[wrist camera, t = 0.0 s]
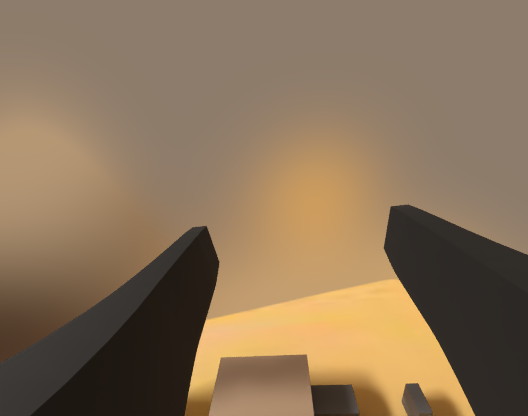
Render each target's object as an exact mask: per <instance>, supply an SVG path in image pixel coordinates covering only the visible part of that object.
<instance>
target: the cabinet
mask: <svg viewBox="0 0 528 416" xmlns="http://www.w3.org/2000/svg"><path fill="white" fill-rule="evenodd" d="M402 403H403V406H404V408H405V410H406V413H407V415H408V416H432V414H433V412H432V410H431V408H430V406H429V404H428V402H427V400H426V398H425V396H424V394H423V392H422V390H421V388H420V386H419V384H418V383H416V384H406V385H405V389H404V394H403V398H402ZM209 416H359V410H358V406H357V403H356V399H355V395H354V391H353V388H352V385H316V386H310V377H309V369H308V361H307V355H282V356H254V357H226V358H221V360H220V365H219V369H218V374H217V379H216V383H215V388H214V392H213V397H212V402H211V406H210V411H209Z"/></svg>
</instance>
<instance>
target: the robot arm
mask: <svg viewBox="0 0 528 416" xmlns="http://www.w3.org/2000/svg"><path fill="white" fill-rule="evenodd" d="M384 250H385V252H386V254H387V256H388V259H389V261H390V263H391V265H392V267H393V269H394V271H395V273H396V275H397V276H398V278H399V280H400V281H401V283H402V284H403V286H404V288H405V289H406V291H407V292H408V294H409V296H410V297H411V299H412V300H413V302H414V303H415V305H416V307H417V308H418V310H419V311H420V313H421V314H422V316H423V318H424V319H425V321H426V322H427V324H428V325H429V327H430V329H431V330H432V332H433V334H434V335H435V337H436V339H437V340H438V342H439V344H440V346H441V348H442V350H443V352H444V354H445V356H446V357H447V359H448V361H449V363H450V365H451V367H452V369H453V371H454V373H455V375H456V377H457V379H458V381H459V383H460V385H461V387H462V389H463V391H464V393H465V395H466V397H467V399H468V402H469V404H470V406H471V408H472V410H473V412H474V414H475V416H528V255H527V254H524V253H521V252H519V251H516V250H514V249H511V248H509V247H506V246H504V245H501V244H499V243H496V242H494V241H491V240H489V239H487V238H485V237H482V236H480V235H477V234H475V233H473V232H471V231H468V230H466V229H464V228H461V227H459V226H457V225H455V224H452V223H450V222H448V221H446V220H444V219H441V218H439V217H437V216H435V215H432V214H430V213H428V212H426V211H423V210H421V209H418V208H415V207H413V206H410V205H400V206H391V209H390V214H389V220H388V226H387V232H386V238H385V244H384ZM218 268H219V260H218V257H217V254H216V251H215V249H214V246H213V243H212V240H211V237H210V234H209V231H208V229H207V227H206V226H202V227H193V228H192V229H190V230H189V231H187V232H186V233H185V234H184V235H182V236H181V237H180V238H179V239H178V240H177V241H176V242H174V243H173V244H172V245H171V246H170V247H169V248H167V249H166V250H165V251H164V252H163V253H162V254H160V255H159V256H158V257H157V258H156V259H155V260H154V261H152V262H151V263H150V264H149V265H148V266H146V267H145V268H144V269H142V270H141V271H140V272H139V273H138V274H136V275H135V276H134V277H133V278H131V279H130V280H129V281H128V282H126V283H125V284H124V285H123V286H121V287H120V288H119V289H117V290H116V291H114V292H113V293H112V294H110V295H109V296H108V297H106V298H105V299H103V300H102V301H100V302H99V303H98V304H96V305H95V306H93V307H92V308H90V309H89V310H87V311H86V312H85V313H83V314H81V315H80V316H78V317H77V318H75V319H73V320H72V321H70V322H69V323H67V324H66V325H64V326H62V327H61V328H59V329H58V330H56V331H54V332H53V333H51V334H50V335H48V336H47V337H45V338H43V339H42V340H40V341H38V342H37V343H35V344H33V345H32V346H30V347H28V348H26V349H25V350H23V351H21V352H20V353H18V354H16V355H14V356H13V357H11V358H9V359H7V360H6V361H4V362H2V363H0V416H184V415H185V409H186V403H187V398H188V392H189V387H190V381H191V376H192V371H193V366H194V361H195V356H196V352H197V348H198V344H199V340H200V337H201V334H202V330H203V327H204V323H205V320H206V317H207V313H208V310H209V307H210V303H211V300H212V296H213V293H214V290H215V286H216V281H217V275H218Z"/></svg>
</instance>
